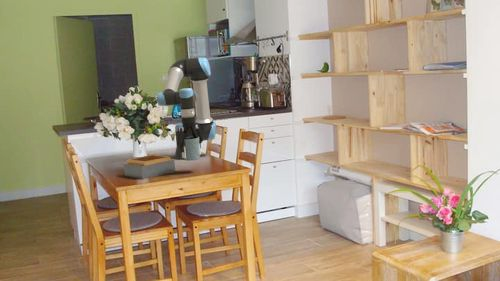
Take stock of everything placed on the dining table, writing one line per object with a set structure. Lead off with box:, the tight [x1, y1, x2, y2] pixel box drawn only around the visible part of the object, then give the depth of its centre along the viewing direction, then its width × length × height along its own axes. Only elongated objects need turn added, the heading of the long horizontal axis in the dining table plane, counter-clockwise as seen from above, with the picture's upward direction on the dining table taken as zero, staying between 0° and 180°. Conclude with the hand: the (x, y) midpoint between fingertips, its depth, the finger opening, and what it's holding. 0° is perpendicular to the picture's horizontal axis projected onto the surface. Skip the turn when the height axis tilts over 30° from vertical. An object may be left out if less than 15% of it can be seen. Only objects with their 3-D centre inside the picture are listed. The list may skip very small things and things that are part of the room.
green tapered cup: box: [183, 137, 201, 162], centre depth 318 cm, size 10×10×12 cm
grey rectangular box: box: [123, 154, 176, 180], centre depth 324 cm, size 26×18×9 cm
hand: (191, 156), depth 319 cm, fingers closed on green tapered cup, 10 cm apart
